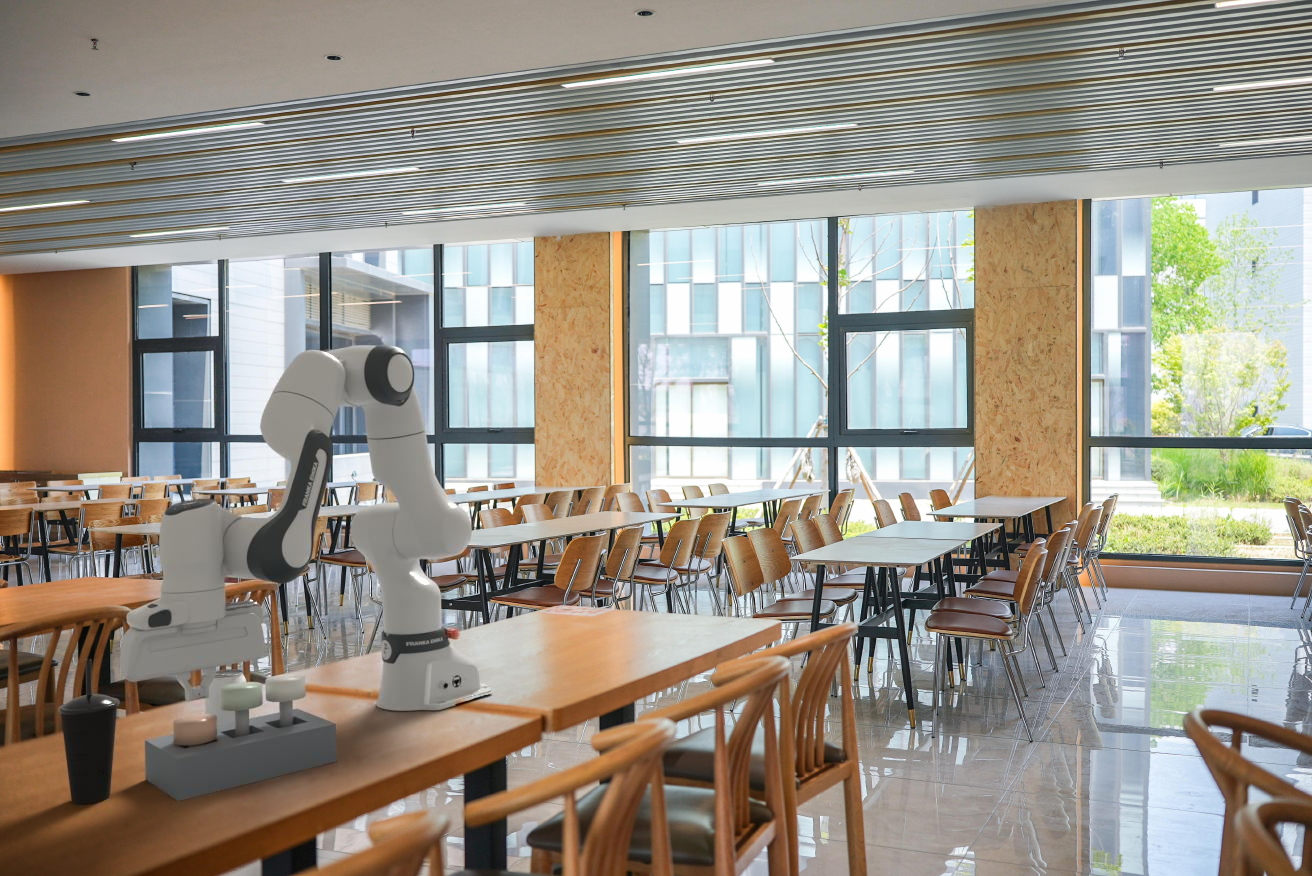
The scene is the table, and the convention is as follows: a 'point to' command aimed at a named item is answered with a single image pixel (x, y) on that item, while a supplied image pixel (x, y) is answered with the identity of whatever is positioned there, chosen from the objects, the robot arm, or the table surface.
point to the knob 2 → (285, 694)
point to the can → (214, 697)
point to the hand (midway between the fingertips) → (197, 699)
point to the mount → (240, 755)
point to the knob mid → (241, 703)
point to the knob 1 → (195, 729)
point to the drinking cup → (89, 743)
